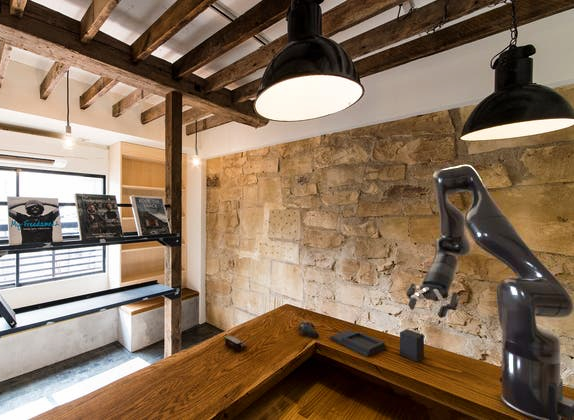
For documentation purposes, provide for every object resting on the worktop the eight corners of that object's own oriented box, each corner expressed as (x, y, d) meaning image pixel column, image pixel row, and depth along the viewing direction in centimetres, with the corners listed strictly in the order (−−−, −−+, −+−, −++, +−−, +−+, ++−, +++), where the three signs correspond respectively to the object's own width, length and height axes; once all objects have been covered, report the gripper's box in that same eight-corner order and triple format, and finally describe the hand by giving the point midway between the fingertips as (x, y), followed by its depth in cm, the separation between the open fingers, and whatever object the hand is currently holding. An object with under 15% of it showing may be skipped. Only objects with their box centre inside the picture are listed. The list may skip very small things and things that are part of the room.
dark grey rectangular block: (423, 358, 89) (424, 334, 89) (416, 362, 87) (417, 338, 87) (406, 351, 93) (406, 329, 93) (399, 354, 91) (399, 332, 91)
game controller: (320, 336, 102) (309, 324, 103) (310, 345, 103) (299, 333, 104) (315, 325, 112) (304, 315, 112) (305, 333, 112) (295, 323, 113)
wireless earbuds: (239, 353, 91) (239, 344, 91) (224, 345, 97) (224, 337, 97) (247, 349, 94) (247, 340, 94) (232, 341, 100) (232, 333, 100)
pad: (386, 348, 95) (386, 341, 95) (367, 357, 90) (367, 350, 90) (348, 332, 108) (349, 326, 108) (330, 339, 102) (330, 333, 102)
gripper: (413, 267, 105) (398, 300, 100) (461, 275, 93) (447, 313, 87) (419, 279, 108) (405, 311, 102) (467, 288, 95) (454, 325, 90)
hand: (425, 312), depth 95 cm, fingers open, 8 cm apart
